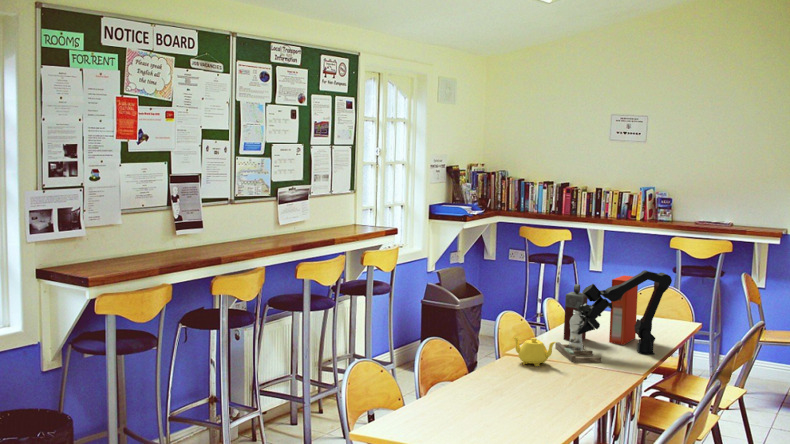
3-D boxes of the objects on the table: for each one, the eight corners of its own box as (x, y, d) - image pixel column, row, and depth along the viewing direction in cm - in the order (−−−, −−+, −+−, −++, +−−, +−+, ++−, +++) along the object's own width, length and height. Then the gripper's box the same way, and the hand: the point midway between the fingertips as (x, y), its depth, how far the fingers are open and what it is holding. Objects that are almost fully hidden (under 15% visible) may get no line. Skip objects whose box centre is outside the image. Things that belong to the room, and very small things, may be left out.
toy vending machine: (585, 342, 387) (588, 287, 385) (563, 339, 393) (565, 284, 390) (590, 339, 395) (592, 284, 393) (568, 336, 401) (571, 282, 398)
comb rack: (583, 348, 375) (583, 340, 375) (601, 362, 351) (601, 354, 351) (555, 348, 374) (555, 340, 374) (571, 362, 350) (571, 353, 350)
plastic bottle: (583, 354, 365) (585, 312, 363) (568, 353, 366) (570, 311, 364) (582, 350, 371) (584, 309, 369) (568, 349, 372) (570, 308, 370)
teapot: (560, 362, 349) (561, 337, 348) (550, 370, 336) (551, 344, 335) (517, 356, 358) (518, 331, 357) (506, 363, 345) (507, 338, 344)
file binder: (608, 342, 389) (612, 279, 387) (619, 336, 404) (623, 275, 401) (624, 345, 385) (628, 281, 382) (635, 338, 399) (638, 277, 396)
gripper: (578, 293, 376) (555, 315, 375) (595, 300, 358) (571, 324, 357) (592, 309, 378) (570, 331, 377) (610, 317, 360) (586, 341, 359)
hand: (573, 331), depth 367 cm, fingers open, 9 cm apart
